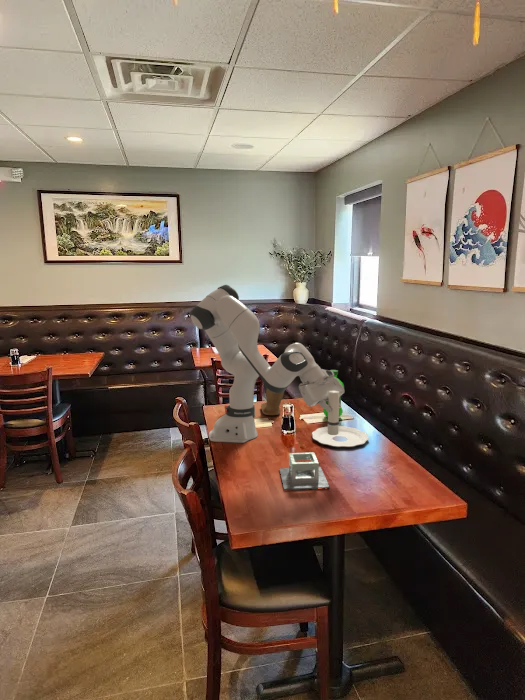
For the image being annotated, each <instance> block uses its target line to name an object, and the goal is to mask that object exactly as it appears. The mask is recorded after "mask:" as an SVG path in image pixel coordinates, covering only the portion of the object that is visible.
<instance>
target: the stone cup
mask: <svg viewBox="0 0 525 700" xmlns="http://www.w3.org/2000/svg"><path fill="white" fill-rule="evenodd" d="M284 396H285V391H284V392H282V393H274V392H271V391H270V390H268V389H267V388H266V392H265V399H266V402H264V403H263V402H262V403H261V405H260V408H261V411H262V414H263V415H266V416H279V415H280V414H281V408H280V405H281V402H282V400H283V397H284Z"/></svg>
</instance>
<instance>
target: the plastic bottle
mask: <svg viewBox="0 0 525 700" xmlns="http://www.w3.org/2000/svg"><path fill="white" fill-rule="evenodd" d="M329 371H332V372H333V373H334V376H333V377H336V378H337V379H338V380H339V382H340V383H341V385H342V386H343V388H344V389H345V385H344V382H342V381H341V380H340V379H339V378H338V375H339V370H337V369H330V370H329ZM339 403H340V405H341V407H340V408H339V418H341V416H342V414H344V413H343V412H344V411H343V408H342V404H341V403H342V395H341V396H340V397H339ZM326 404H327V405H328V401H326ZM322 412H323V414H324V416H325V417H326V418H327V419H328V412H327V411H326V410H325V409H324V408H323V410H322Z"/></svg>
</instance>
